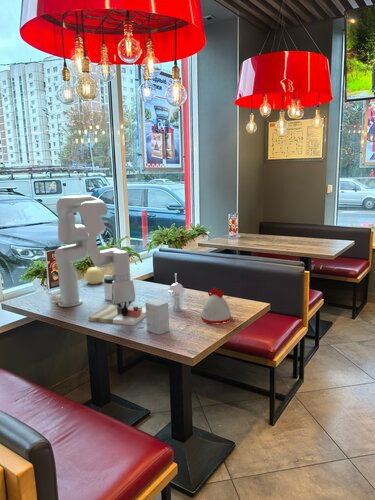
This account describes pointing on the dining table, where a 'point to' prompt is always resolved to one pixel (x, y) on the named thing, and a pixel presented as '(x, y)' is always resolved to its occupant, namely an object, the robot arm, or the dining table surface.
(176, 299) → the cup with straw
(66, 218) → the robot arm
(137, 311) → the swing bar
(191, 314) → the dining table surface
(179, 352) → the dining table surface
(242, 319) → the dining table surface
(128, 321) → the door
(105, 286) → the jar
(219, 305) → the kitchen timer
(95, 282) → the pale yellow ball
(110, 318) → the tan wavy block
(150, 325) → the small box
